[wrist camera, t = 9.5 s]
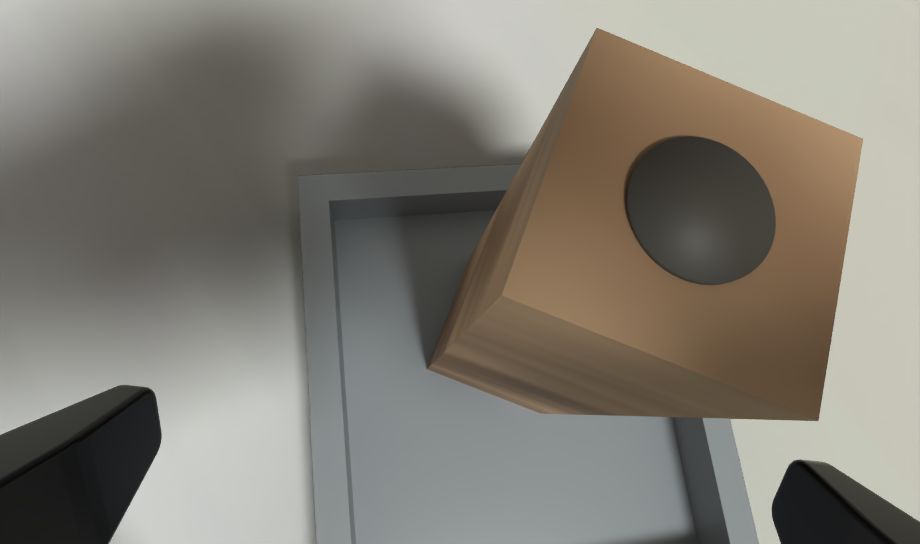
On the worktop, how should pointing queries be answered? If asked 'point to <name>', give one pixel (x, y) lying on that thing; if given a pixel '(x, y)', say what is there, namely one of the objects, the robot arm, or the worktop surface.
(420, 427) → the tray
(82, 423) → the robot arm
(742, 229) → the walnut block
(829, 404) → the worktop surface
